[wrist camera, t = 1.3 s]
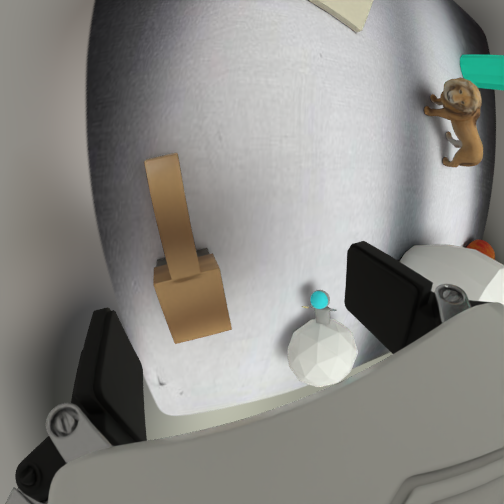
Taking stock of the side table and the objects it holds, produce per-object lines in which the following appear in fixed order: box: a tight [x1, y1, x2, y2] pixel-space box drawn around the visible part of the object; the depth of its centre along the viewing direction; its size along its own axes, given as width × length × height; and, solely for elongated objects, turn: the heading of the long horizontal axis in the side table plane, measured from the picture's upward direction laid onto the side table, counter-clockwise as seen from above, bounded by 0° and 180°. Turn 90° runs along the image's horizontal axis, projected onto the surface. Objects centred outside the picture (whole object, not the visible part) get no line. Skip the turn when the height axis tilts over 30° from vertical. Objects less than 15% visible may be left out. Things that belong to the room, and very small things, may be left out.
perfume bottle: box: [287, 290, 358, 387], centre depth 28 cm, size 8×8×12 cm
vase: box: [399, 245, 504, 305], centre depth 24 cm, size 14×14×25 cm
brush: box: [144, 153, 232, 344], centre depth 21 cm, size 14×5×5 cm, turn 7°
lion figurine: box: [424, 78, 483, 167], centre depth 23 cm, size 15×5×9 cm, turn 48°
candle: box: [460, 55, 504, 90], centre depth 20 cm, size 6×6×12 cm
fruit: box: [466, 240, 495, 260], centre depth 36 cm, size 7×7×8 cm
